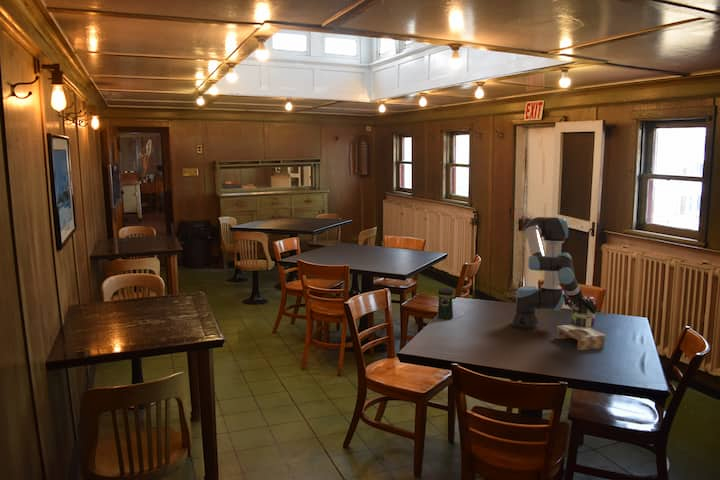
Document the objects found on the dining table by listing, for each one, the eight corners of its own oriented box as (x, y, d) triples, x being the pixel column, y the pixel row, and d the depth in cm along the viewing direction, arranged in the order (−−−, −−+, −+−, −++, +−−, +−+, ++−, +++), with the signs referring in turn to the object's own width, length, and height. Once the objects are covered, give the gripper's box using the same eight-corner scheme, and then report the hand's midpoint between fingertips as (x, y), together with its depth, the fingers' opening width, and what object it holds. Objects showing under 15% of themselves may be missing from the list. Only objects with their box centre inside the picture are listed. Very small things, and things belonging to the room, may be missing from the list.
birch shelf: (578, 350, 303) (579, 337, 302) (555, 337, 322) (556, 325, 321) (604, 347, 307) (605, 335, 306) (580, 335, 326) (581, 323, 325)
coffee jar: (453, 316, 359) (455, 287, 356) (452, 320, 351) (453, 290, 348) (438, 315, 361) (439, 286, 358) (436, 318, 354) (437, 289, 351)
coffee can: (576, 328, 307) (578, 303, 305) (567, 323, 317) (569, 298, 315) (594, 328, 308) (597, 303, 306) (585, 322, 318) (587, 298, 316)
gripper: (550, 291, 308) (562, 315, 321) (591, 300, 291) (602, 324, 305) (555, 280, 310) (567, 304, 324) (596, 288, 294) (607, 313, 307)
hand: (584, 314), depth 314 cm, fingers closed on coffee can, 10 cm apart
